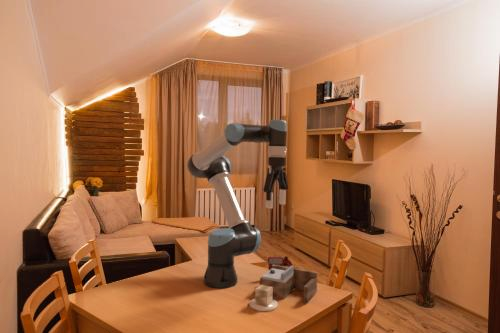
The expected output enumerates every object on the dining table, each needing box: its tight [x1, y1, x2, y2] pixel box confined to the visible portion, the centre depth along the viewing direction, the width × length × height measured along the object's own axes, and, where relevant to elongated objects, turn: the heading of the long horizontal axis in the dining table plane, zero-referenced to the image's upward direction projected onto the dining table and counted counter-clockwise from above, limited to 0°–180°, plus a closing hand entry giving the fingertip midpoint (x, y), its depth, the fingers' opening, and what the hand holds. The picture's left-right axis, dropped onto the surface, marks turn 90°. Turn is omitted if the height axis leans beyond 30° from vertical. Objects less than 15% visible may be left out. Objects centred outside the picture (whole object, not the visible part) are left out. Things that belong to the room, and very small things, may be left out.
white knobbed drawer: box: [260, 264, 295, 283], centre depth 155 cm, size 10×12×4 cm
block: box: [254, 284, 274, 307], centre depth 141 cm, size 5×5×6 cm
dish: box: [249, 297, 279, 312], centre depth 142 cm, size 11×11×1 cm
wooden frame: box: [259, 265, 319, 304], centre depth 154 cm, size 20×14×8 cm
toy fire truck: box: [267, 255, 294, 271], centre depth 171 cm, size 7×12×10 cm, turn 98°
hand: (275, 206), depth 157 cm, fingers open, 13 cm apart
